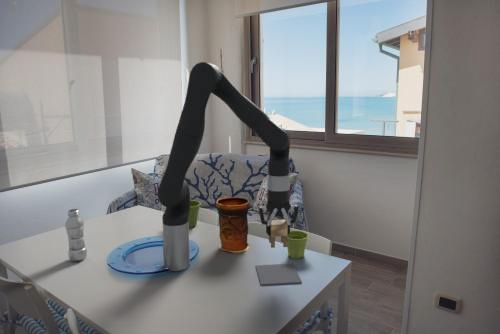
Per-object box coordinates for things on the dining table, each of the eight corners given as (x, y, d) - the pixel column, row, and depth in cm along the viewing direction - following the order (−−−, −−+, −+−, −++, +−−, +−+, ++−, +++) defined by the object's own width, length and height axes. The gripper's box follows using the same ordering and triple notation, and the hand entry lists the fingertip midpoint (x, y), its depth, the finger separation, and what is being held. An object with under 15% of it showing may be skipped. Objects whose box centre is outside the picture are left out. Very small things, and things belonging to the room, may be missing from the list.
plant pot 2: (307, 261, 143) (307, 240, 142) (282, 259, 145) (283, 238, 144) (308, 251, 152) (309, 231, 151) (285, 249, 154) (285, 229, 153)
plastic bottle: (91, 257, 148) (86, 208, 144) (76, 264, 142) (71, 214, 138) (79, 254, 150) (74, 206, 147) (64, 261, 144) (59, 211, 141)
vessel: (209, 250, 154) (209, 203, 150) (225, 238, 167) (224, 195, 164) (242, 256, 149) (242, 207, 145) (255, 243, 162) (255, 198, 158)
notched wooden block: (271, 247, 128) (271, 225, 126) (268, 241, 133) (269, 220, 132) (287, 247, 128) (287, 224, 127) (284, 240, 134) (284, 219, 132)
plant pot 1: (190, 231, 175) (189, 208, 173) (171, 226, 182) (170, 204, 179) (206, 224, 185) (205, 202, 183) (188, 220, 191) (187, 198, 189)
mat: (260, 285, 126) (260, 284, 125) (255, 266, 139) (255, 265, 139) (301, 283, 127) (301, 281, 127) (292, 264, 141) (292, 263, 141)
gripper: (258, 191, 123) (258, 240, 126) (301, 189, 124) (300, 238, 127) (256, 185, 130) (256, 231, 133) (296, 184, 131) (296, 230, 135)
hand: (278, 234), depth 130 cm, fingers closed on notched wooden block, 5 cm apart
